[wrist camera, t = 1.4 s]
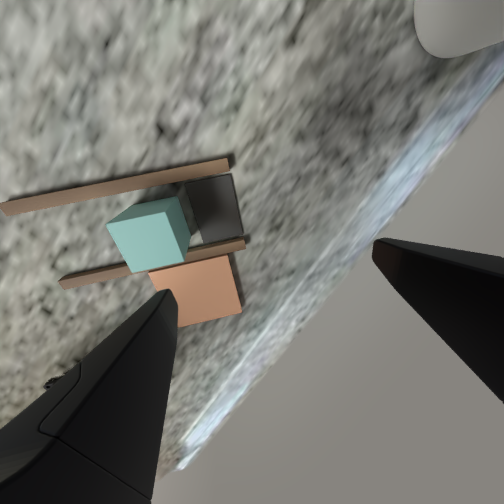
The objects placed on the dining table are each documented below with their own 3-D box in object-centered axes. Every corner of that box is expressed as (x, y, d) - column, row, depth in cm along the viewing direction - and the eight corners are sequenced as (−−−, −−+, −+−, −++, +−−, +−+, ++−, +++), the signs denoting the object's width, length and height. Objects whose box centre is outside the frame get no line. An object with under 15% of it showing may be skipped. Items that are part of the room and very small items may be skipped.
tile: (241, 307, 25) (242, 312, 25) (177, 323, 25) (175, 328, 24) (226, 251, 22) (227, 255, 21) (150, 268, 21) (148, 273, 20)
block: (191, 236, 20) (184, 261, 16) (150, 245, 20) (132, 273, 16) (177, 195, 18) (164, 211, 14) (132, 205, 18) (105, 224, 14)
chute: (245, 245, 22) (246, 248, 21) (69, 284, 21) (63, 289, 20) (226, 157, 17) (227, 158, 17) (6, 201, 16) (-4, 204, 16)
